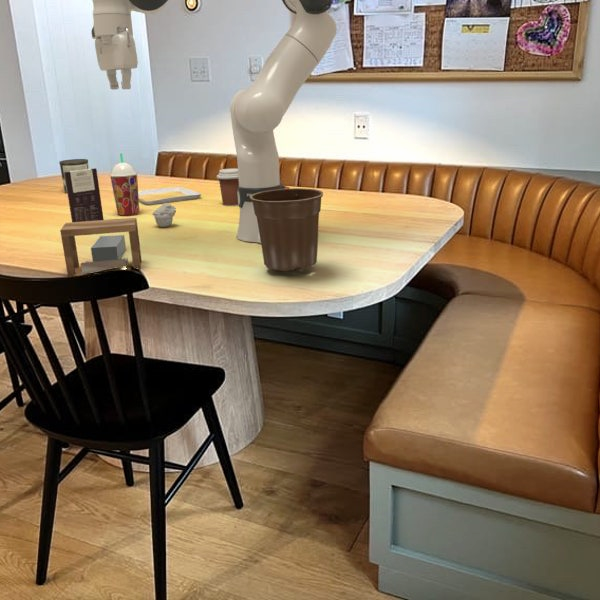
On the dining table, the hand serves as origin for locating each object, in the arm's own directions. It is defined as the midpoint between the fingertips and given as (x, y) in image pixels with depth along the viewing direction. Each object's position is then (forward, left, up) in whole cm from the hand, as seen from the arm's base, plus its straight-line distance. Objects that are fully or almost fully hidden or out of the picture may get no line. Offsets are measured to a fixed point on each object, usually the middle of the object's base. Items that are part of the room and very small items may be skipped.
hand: (120, 89), depth 157 cm
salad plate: (-6, -63, -40) cm, 74 cm away
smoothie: (+5, -38, -39) cm, 55 cm away
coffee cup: (-29, -45, -39) cm, 66 cm away
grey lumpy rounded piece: (-7, -18, -39) cm, 44 cm away
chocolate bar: (+15, -18, -39) cm, 46 cm away
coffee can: (+26, -83, -39) cm, 95 cm away
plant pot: (-35, +33, -39) cm, 62 cm away
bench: (+7, +22, -39) cm, 46 cm away
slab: (+7, +11, -40) cm, 42 cm away
